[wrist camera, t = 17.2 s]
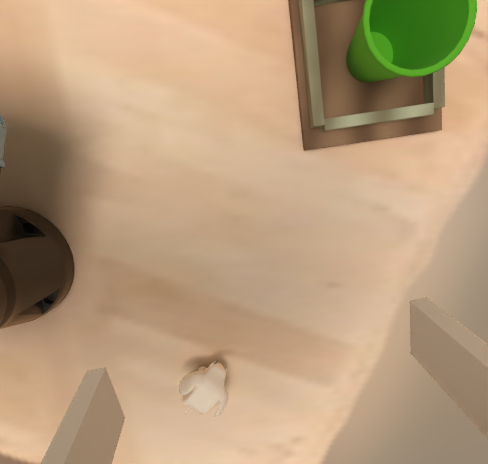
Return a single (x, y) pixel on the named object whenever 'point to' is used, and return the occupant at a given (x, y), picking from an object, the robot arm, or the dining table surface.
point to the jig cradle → (353, 83)
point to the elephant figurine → (205, 388)
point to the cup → (409, 37)
